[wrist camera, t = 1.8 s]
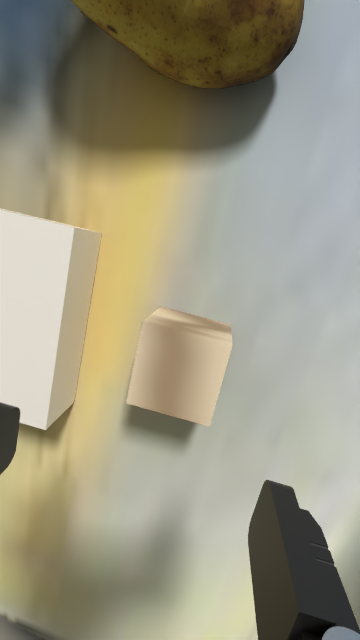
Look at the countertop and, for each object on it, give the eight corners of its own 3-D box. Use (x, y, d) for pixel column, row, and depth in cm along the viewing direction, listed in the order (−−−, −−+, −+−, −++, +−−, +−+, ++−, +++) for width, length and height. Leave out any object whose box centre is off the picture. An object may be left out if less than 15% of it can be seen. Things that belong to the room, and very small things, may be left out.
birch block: (230, 324, 21) (232, 344, 16) (212, 389, 22) (209, 426, 18) (160, 306, 22) (142, 321, 17) (146, 371, 23) (125, 403, 18)
